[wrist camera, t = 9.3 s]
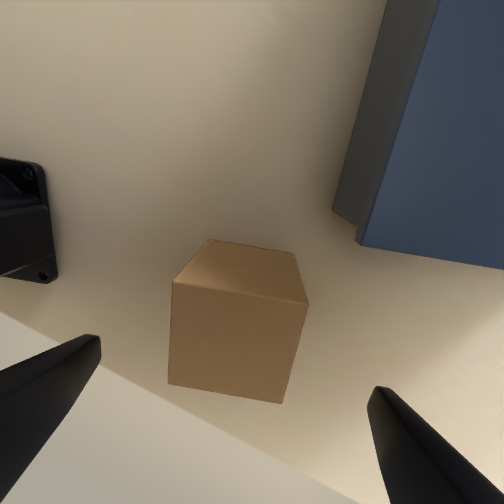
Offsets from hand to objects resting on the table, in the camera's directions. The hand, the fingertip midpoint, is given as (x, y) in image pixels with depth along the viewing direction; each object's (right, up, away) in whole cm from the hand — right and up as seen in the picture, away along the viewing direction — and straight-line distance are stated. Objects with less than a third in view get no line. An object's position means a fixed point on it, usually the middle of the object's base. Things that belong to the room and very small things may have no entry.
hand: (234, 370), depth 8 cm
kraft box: (0, +2, +6) cm, 6 cm away
